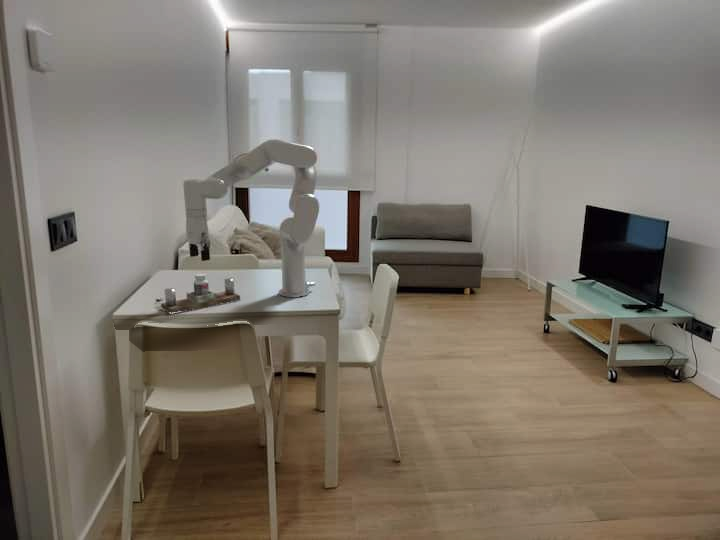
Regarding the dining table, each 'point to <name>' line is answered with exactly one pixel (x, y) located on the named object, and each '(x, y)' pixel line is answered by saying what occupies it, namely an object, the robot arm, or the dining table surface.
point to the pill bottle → (201, 285)
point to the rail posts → (171, 296)
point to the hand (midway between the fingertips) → (200, 258)
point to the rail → (200, 301)
